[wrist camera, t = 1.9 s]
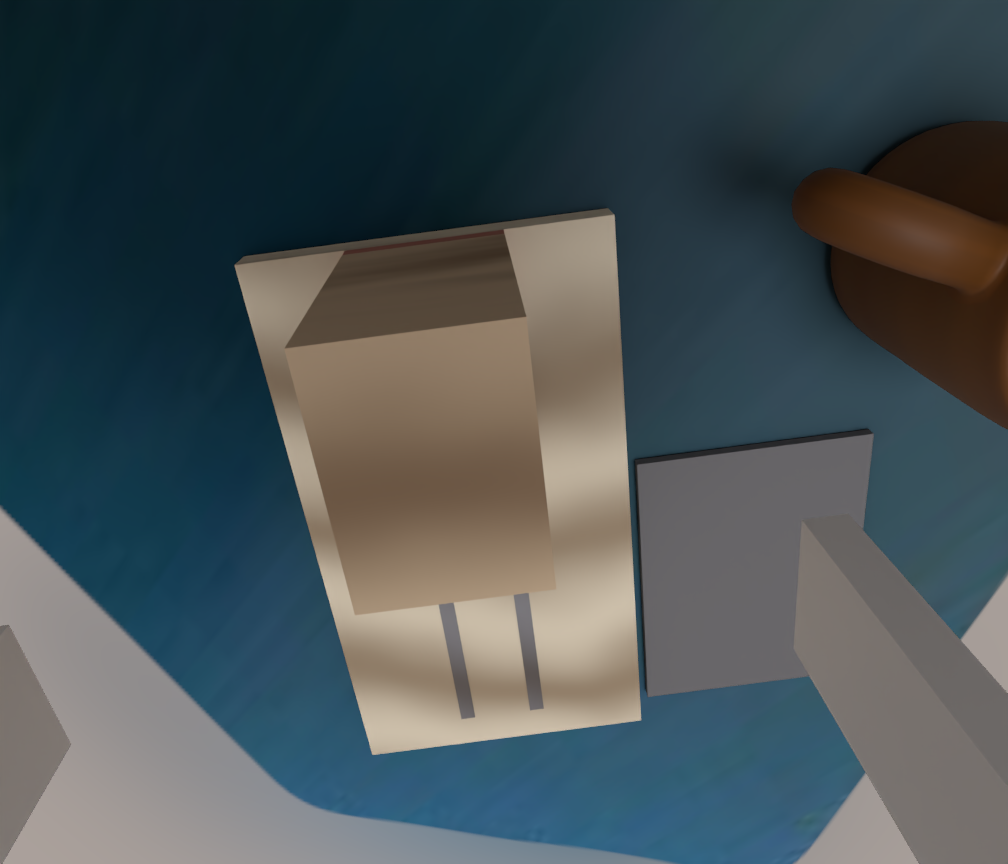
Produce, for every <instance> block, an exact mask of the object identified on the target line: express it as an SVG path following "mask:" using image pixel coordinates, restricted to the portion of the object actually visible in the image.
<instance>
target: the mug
mask: <svg viewBox="0 0 1008 864" xmlns="http://www.w3.org/2000/svg"><path fill="white" fill-rule="evenodd" d="M791 205H792V212H793V218H794V219H795V221H796V222H797V224H798V226H799V227H800V228H801V229H802V230H803V231H805V232H806V233H808V234H809V235H811V236H813V237H814V238H816V239H818V240H820V241H822V242H825V243H827V244H829V245H832V249H831V276H832V282H833V286H834V290H835V293H836V295H837V298H838V300H839V303H840V305H841V306H842V308H843V310H844V311H845V313H846V314H847V316H848V317H849V319H850V320H851V321H852V322H853V323H854V324H855V326H856V327H857V328H859V329H860V330H861V331H862V332H863V333H864V334H866V335H867V336H868V337H869V338H870V339H872V340H873V341H874V342H876V343H877V344H879V345H880V346H882V347H883V348H885V349H886V350H888V351H889V352H891V353H892V354H894V355H895V356H896V357H898V358H899V359H901V360H902V361H903V362H905V363H906V364H908V365H909V366H910V367H912V368H913V369H915V370H916V371H917V372H919V373H920V374H922V375H923V376H925V377H926V378H928V379H929V380H931V381H932V382H934V383H935V384H937V385H938V386H940V387H941V388H943V389H944V390H946V391H947V392H949V393H950V394H952V395H953V396H955V397H956V398H958V399H959V400H961V401H962V402H964V403H965V404H967V405H968V406H970V407H971V408H973V409H974V410H976V411H977V412H979V413H980V414H982V415H983V416H985V417H987V418H988V419H990V420H992V421H993V422H995V423H997V424H998V425H1000V426H1002V427H1004V428H1006V429H1008V122H999V121H966V122H960V123H954V124H949V125H945V126H941V127H938V128H935V129H931V130H929V131H926V132H924V133H922V134H919V135H917V136H915V137H913V138H911V139H910V140H908V141H906V142H904V143H903V144H901V145H899V146H898V147H897V148H895V149H894V150H892V151H891V152H890V153H888V154H887V155H886V156H885V157H884V158H883V159H881V160H880V161H879V162H878V163H877V164H876V165H875V166H874V167H873V168H872V169H871V170H870V171H869V172H868V174H867V175H863V174H860V173H856V172H853V171H849V170H845V169H837V168H826V169H822V170H818V171H815V172H813V173H812V174H810V175H809V176H808V177H806V178H805V179H803V181H802V182H801V183H800V185H799V186H798V187H797V189H796V190H795V192H794V196H793V200H792V204H791Z"/></svg>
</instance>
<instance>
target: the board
mask: <svg viewBox="0 0 1008 864" xmlns="http://www.w3.org/2000/svg"><path fill="white" fill-rule="evenodd" d="M498 230H504V234H505V237H506V241H507V245H508V249H509V253H510V256H511V260H512V264H513V268H514V272H515V275H516V279H517V283H518V287H519V291H520V294H521V298H522V302H523V306H524V310H525V313H526V318H527V327H528V336H529V345H530V354H531V363H532V372H533V381H534V390H535V399H536V408H537V417H538V426H539V436H540V445H541V454H542V463H543V472H544V481H545V490H546V499H547V508H548V517H549V526H550V535H551V544H552V553H553V562H554V571H555V580H556V589H555V590H547V591H539V592H532V593H524V594H516V595H509V596H501V597H493V598H486V599H478V600H470V601H462V602H455V603H447V604H439V605H432V606H424V607H416V608H408V609H401V610H393V611H385V612H378V613H370V614H362V615H355V614H354V610H353V606H352V602H351V599H350V595H349V591H348V587H347V584H346V580H345V576H344V572H343V569H342V565H341V561H340V557H339V553H338V550H337V546H336V542H335V538H334V535H333V531H332V527H331V523H330V520H329V516H328V512H327V508H326V505H325V501H324V497H323V493H322V489H321V486H320V482H319V478H318V474H317V471H316V467H315V463H314V459H313V456H312V452H311V448H310V444H309V441H308V437H307V433H306V429H305V425H304V422H303V418H302V414H301V410H300V407H299V403H298V399H297V395H296V392H295V388H294V384H293V380H292V377H291V373H290V369H289V365H288V361H287V358H286V354H285V350H284V348H285V346H286V345H287V343H288V342H289V340H290V338H291V337H292V335H293V334H294V332H295V330H296V329H297V327H298V325H299V324H300V322H301V321H302V319H303V317H304V316H305V314H306V313H307V311H308V309H309V308H310V306H311V304H312V303H313V301H314V300H315V298H316V296H317V295H318V293H319V292H320V290H321V288H322V287H323V285H324V284H325V282H326V280H327V279H328V277H329V275H330V274H331V272H332V271H333V269H334V267H335V266H336V264H337V263H338V261H339V259H340V258H341V256H342V255H343V253H344V251H347V250H354V249H362V248H369V247H377V246H384V245H392V244H399V243H407V242H415V241H422V240H430V239H437V238H445V237H452V236H460V235H467V234H475V233H482V232H490V231H498ZM234 266H235V269H236V273H237V276H238V280H239V283H240V287H241V290H242V294H243V297H244V301H245V305H246V308H247V312H248V315H249V319H250V322H251V326H252V329H253V333H254V336H255V340H256V344H257V347H258V351H259V354H260V358H261V361H262V365H263V368H264V372H265V375H266V379H267V383H268V386H269V390H270V393H271V397H272V400H273V404H274V407H275V411H276V414H277V418H278V422H279V425H280V429H281V432H282V436H283V439H284V443H285V446H286V450H287V453H288V457H289V460H290V464H291V468H292V471H293V475H294V478H295V482H296V485H297V489H298V492H299V496H300V499H301V503H302V507H303V510H304V514H305V517H306V521H307V524H308V528H309V531H310V535H311V538H312V542H313V546H314V549H315V553H316V556H317V560H318V563H319V567H320V570H321V574H322V577H323V581H324V585H325V588H326V592H327V595H328V599H329V602H330V606H331V609H332V613H333V616H334V620H335V624H336V627H337V631H338V634H339V638H340V641H341V645H342V648H343V652H344V655H345V659H346V663H347V666H348V670H349V673H350V677H351V680H352V684H353V687H354V691H355V694H356V698H357V701H358V705H359V709H360V712H361V716H362V719H363V723H364V726H365V730H366V733H367V737H368V740H369V744H370V748H371V751H372V755H376V754H383V753H391V752H399V751H407V750H414V749H422V748H430V747H438V746H446V745H453V744H461V743H469V742H477V741H484V740H492V739H500V738H508V737H515V736H523V735H531V734H539V733H547V732H554V731H562V730H570V729H578V728H585V727H593V726H601V725H609V724H616V723H624V722H632V721H640V720H641V709H640V690H639V671H638V652H637V633H636V614H635V595H634V576H633V557H632V538H631V519H630V500H629V481H628V462H627V443H626V424H625V405H624V386H623V367H622V348H621V329H620V309H619V290H618V271H617V252H616V233H615V215H614V214H613V213H612V212H611V211H610V210H609V209H608V208H605V209H597V210H590V211H582V212H575V213H567V214H560V215H552V216H545V217H537V218H530V219H522V220H514V221H507V222H499V223H492V224H484V225H477V226H469V227H462V228H454V229H447V230H439V231H432V232H424V233H416V234H409V235H401V236H394V237H386V238H379V239H371V240H364V241H356V242H349V243H341V244H334V245H326V246H318V247H311V248H303V249H296V250H288V251H281V252H273V253H266V254H258V255H251V256H244V257H243V258H242V259H241V260H240V261H238V262H237V263H236V264H235V265H234Z"/></svg>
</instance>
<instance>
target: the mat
mask: <svg viewBox="0 0 1008 864" xmlns="http://www.w3.org/2000/svg"><path fill="white" fill-rule="evenodd" d="M873 436H874V434H873V433H872V432H871V431H870V430H869V429H866V430H859V431H851V432H843V433H836V434H828V435H820V436H813V437H805V438H797V439H790V440H782V441H775V442H767V443H759V444H752V445H744V446H736V447H729V448H721V449H713V450H706V451H698V452H690V453H683V454H675V455H667V456H660V457H652V458H644V459H637V460H635V471H636V493H637V514H638V535H639V556H640V577H641V598H642V619H643V640H644V661H645V682H646V692H647V696H648V697H651V696H659V695H667V694H674V693H682V692H690V691H698V690H705V689H713V688H721V687H729V686H737V685H744V684H752V683H760V682H768V681H775V680H783V679H791V678H799V677H806V676H809V674H808V673H807V671H806V669H805V667H804V666H803V664H802V662H801V661H800V659H799V657H798V655H797V654H796V652H795V650H794V634H795V619H796V603H797V587H798V572H799V556H800V540H801V525H802V520H804V519H812V518H819V517H827V516H834V515H842V514H849V515H850V516H851V517H852V519H853V520H854V521H855V522H856V523H857V524H858V525H859V526H860V528H861V529H862V530H863V525H864V516H865V507H866V498H867V490H868V481H869V472H870V463H871V454H872V445H873Z"/></svg>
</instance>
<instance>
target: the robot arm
mask: <svg viewBox="0 0 1008 864" xmlns="http://www.w3.org/2000/svg"><path fill="white" fill-rule="evenodd" d="M794 650H795V652H796V654H797V655H798V657H799V659H800V661H801V662H802V664H803V666H804V667H805V669H806V671H807V673H808V674H809V676H810V678H811V679H812V681H813V683H814V685H815V686H816V688H817V690H818V691H819V693H820V695H821V697H822V698H823V700H824V702H825V703H826V705H827V707H828V709H829V710H830V712H831V714H832V715H833V717H834V719H835V721H836V722H837V724H838V726H839V727H840V729H841V731H842V733H843V734H844V736H845V738H846V739H847V741H848V743H849V745H850V746H851V748H852V750H853V751H854V753H855V755H856V757H857V758H858V760H859V762H860V763H861V765H862V767H863V769H864V770H865V772H866V774H867V775H868V777H869V779H870V780H871V782H872V784H873V786H874V787H875V789H876V791H877V793H878V794H879V796H880V798H881V799H882V801H883V803H884V805H885V806H886V808H887V810H888V811H889V813H890V815H891V817H892V818H893V820H894V821H895V823H896V825H897V827H898V829H899V830H900V832H901V834H902V835H903V837H904V839H905V840H906V842H907V844H908V846H909V847H910V849H911V851H912V852H913V854H914V856H915V858H916V859H917V861H918V863H919V864H1008V693H1007V692H1006V691H1005V690H1004V689H1003V688H1002V687H1001V685H999V683H998V682H997V681H996V680H995V679H994V678H993V676H992V675H991V674H990V673H989V672H988V671H987V670H986V668H985V667H984V666H982V664H981V663H980V662H979V661H978V659H977V658H976V657H975V656H974V655H973V654H972V653H971V652H970V650H969V649H968V648H967V647H966V646H965V645H964V644H963V643H962V641H961V640H960V639H959V638H958V637H957V636H956V635H955V634H954V632H953V631H952V630H951V629H950V628H949V627H948V626H947V625H946V623H945V622H944V621H943V620H942V619H941V618H940V617H939V615H938V614H937V613H936V612H935V611H934V610H933V609H932V608H931V606H930V605H929V604H928V603H927V602H926V601H925V600H924V599H923V597H922V596H921V595H920V594H919V593H918V592H917V591H916V590H915V588H914V587H913V586H912V585H911V584H910V583H909V582H908V581H907V579H906V578H905V577H904V576H903V575H902V574H901V573H900V572H899V570H898V569H897V568H896V567H895V566H894V565H893V564H892V562H891V561H890V560H889V559H888V558H887V557H886V556H885V555H884V553H883V552H882V551H881V550H880V549H879V548H878V547H877V546H876V544H875V543H874V542H873V541H872V540H871V539H870V538H869V537H868V535H867V534H866V533H865V532H864V531H863V530H862V529H861V528H860V526H859V525H858V524H857V523H856V522H855V521H854V520H853V519H852V517H851V516H850V515H849V514H842V515H834V516H827V517H819V518H812V519H804V520H802V525H801V540H800V556H799V572H798V587H797V603H796V619H795V634H794ZM70 745H71V743H70V741H69V739H68V737H67V735H66V734H65V731H64V730H63V728H62V726H61V724H60V722H59V720H58V718H57V716H56V714H55V712H54V711H53V708H52V706H51V705H50V703H49V701H48V699H47V697H46V695H45V693H44V691H43V689H42V687H41V685H40V684H39V682H38V680H37V678H36V676H35V674H34V672H33V670H32V668H31V666H30V664H29V662H28V661H27V659H26V657H25V655H24V653H23V651H22V649H21V647H20V645H19V643H18V642H17V640H16V638H15V636H14V634H13V632H12V630H11V628H10V626H9V625H5V626H0V864H2V863H3V862H4V860H5V858H6V857H7V855H8V853H9V851H10V850H11V848H12V846H13V844H14V843H15V841H16V839H17V837H18V835H19V834H20V832H21V831H22V829H23V827H24V825H25V824H26V822H27V820H28V818H29V817H30V815H31V813H32V811H33V810H34V808H35V806H36V804H37V803H38V801H39V799H40V797H41V796H42V794H43V792H44V791H45V789H46V787H47V785H48V784H49V782H50V780H51V778H52V777H53V775H54V773H55V772H56V770H57V768H58V766H59V765H60V763H61V761H62V759H63V758H64V756H65V754H66V752H67V751H68V749H69V747H70Z"/></svg>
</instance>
